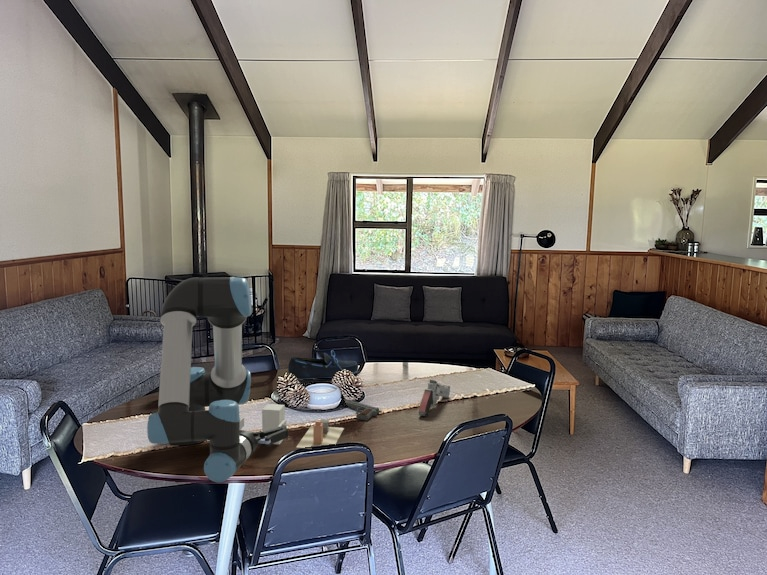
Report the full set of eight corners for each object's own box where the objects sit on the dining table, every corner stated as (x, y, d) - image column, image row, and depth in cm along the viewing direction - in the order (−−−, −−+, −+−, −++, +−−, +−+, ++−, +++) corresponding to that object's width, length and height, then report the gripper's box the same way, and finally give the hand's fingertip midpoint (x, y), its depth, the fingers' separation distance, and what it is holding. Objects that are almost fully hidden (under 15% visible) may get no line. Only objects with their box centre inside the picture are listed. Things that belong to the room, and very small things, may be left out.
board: (332, 453, 184) (332, 437, 183) (295, 450, 185) (295, 435, 185) (344, 431, 204) (344, 416, 203) (311, 429, 205) (311, 415, 204)
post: (321, 443, 188) (321, 422, 188) (313, 443, 189) (313, 422, 188) (322, 440, 191) (323, 419, 190) (315, 440, 191) (315, 419, 190)
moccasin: (363, 376, 278) (363, 352, 276) (295, 384, 261) (295, 359, 260) (351, 370, 290) (351, 347, 288) (285, 377, 274) (285, 353, 272)
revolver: (416, 414, 219) (422, 375, 223) (438, 420, 245) (443, 385, 249) (425, 416, 218) (431, 376, 221) (446, 422, 244) (451, 386, 247)
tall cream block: (279, 447, 187) (279, 410, 186) (262, 446, 188) (262, 409, 187) (284, 441, 193) (284, 404, 192) (268, 440, 194) (267, 403, 192)
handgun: (330, 412, 226) (351, 405, 235) (365, 422, 214) (386, 414, 223) (330, 405, 225) (351, 398, 234) (365, 415, 214) (386, 408, 223)
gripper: (196, 458, 160) (225, 432, 181) (283, 463, 157) (303, 436, 178) (195, 432, 159) (225, 409, 180) (282, 437, 156) (303, 413, 177)
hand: (264, 422), depth 179 cm, fingers open, 13 cm apart
